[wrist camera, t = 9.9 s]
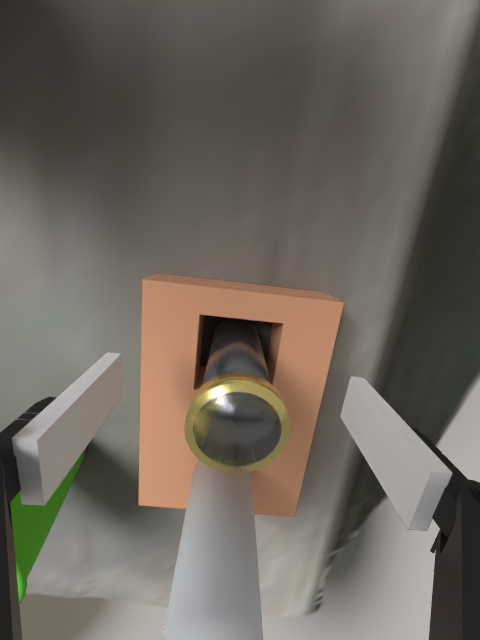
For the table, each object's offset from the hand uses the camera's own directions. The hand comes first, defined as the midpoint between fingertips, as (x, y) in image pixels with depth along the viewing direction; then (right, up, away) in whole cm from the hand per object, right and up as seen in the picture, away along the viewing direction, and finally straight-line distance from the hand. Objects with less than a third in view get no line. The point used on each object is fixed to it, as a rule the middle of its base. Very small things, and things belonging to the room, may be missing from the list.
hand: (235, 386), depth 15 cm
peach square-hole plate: (-1, -3, +10) cm, 10 cm away
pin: (0, +2, +8) cm, 9 cm away
